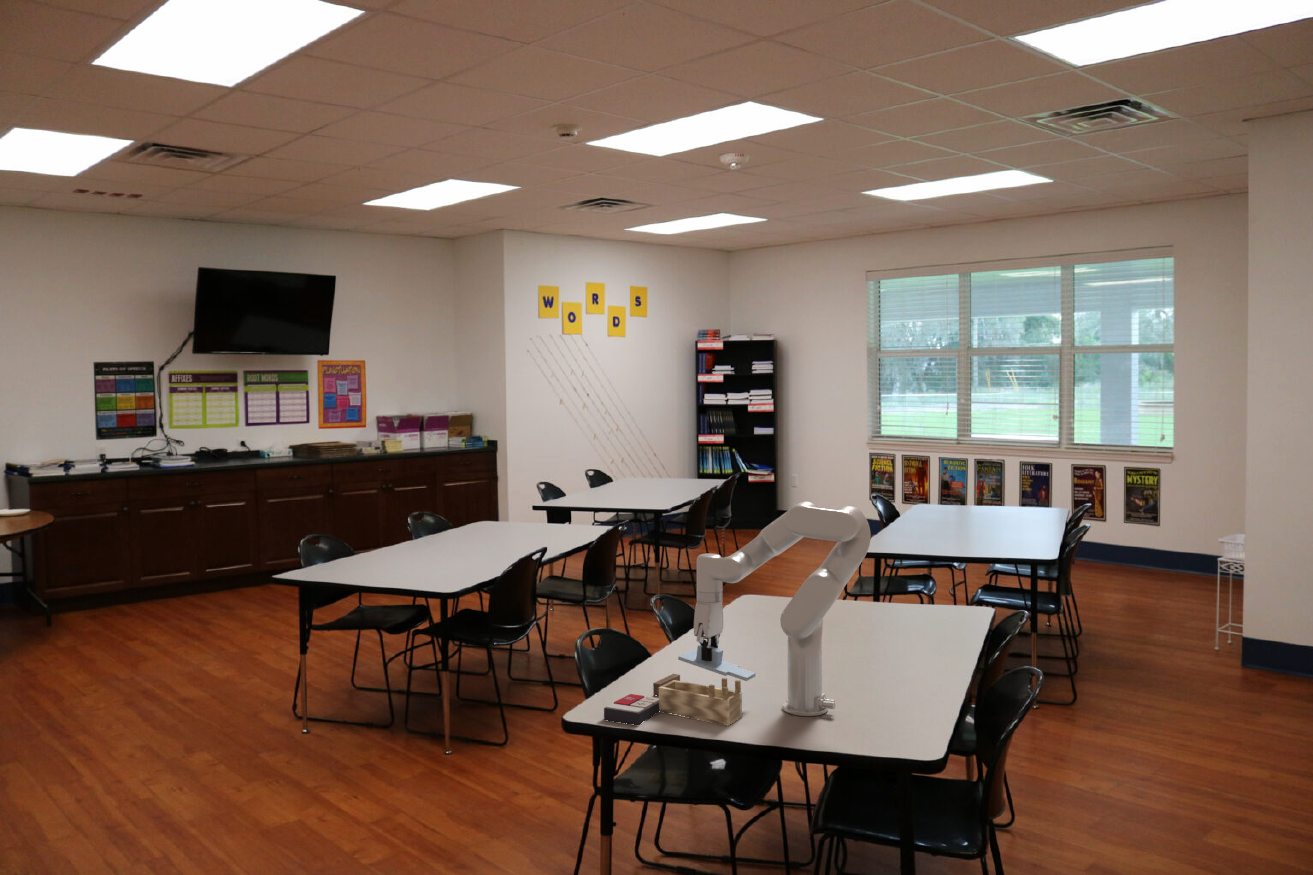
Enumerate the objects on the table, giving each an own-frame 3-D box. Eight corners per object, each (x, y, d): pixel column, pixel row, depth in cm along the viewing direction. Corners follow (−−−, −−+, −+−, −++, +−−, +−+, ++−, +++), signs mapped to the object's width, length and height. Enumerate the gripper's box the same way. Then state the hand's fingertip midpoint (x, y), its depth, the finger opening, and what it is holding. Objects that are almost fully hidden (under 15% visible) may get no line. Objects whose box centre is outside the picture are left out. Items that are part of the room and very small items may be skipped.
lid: (757, 675, 266) (759, 658, 265) (744, 682, 259) (746, 665, 259) (692, 653, 278) (694, 637, 277) (678, 659, 271) (680, 643, 270)
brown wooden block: (680, 687, 282) (680, 674, 282) (660, 697, 273) (660, 684, 273) (673, 686, 283) (673, 673, 283) (653, 696, 274) (653, 683, 274)
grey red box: (663, 697, 263) (638, 710, 249) (663, 712, 262) (638, 726, 249) (629, 692, 268) (603, 705, 254) (629, 707, 268) (603, 720, 254)
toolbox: (742, 717, 255) (741, 680, 254) (727, 726, 248) (727, 688, 247) (674, 703, 267) (673, 668, 266) (659, 711, 260) (658, 676, 260)
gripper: (712, 590, 278) (712, 650, 279) (683, 600, 264) (684, 664, 265) (734, 592, 274) (734, 654, 275) (706, 603, 260) (706, 668, 261)
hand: (709, 658), depth 270 cm, fingers closed on lid, 2 cm apart
